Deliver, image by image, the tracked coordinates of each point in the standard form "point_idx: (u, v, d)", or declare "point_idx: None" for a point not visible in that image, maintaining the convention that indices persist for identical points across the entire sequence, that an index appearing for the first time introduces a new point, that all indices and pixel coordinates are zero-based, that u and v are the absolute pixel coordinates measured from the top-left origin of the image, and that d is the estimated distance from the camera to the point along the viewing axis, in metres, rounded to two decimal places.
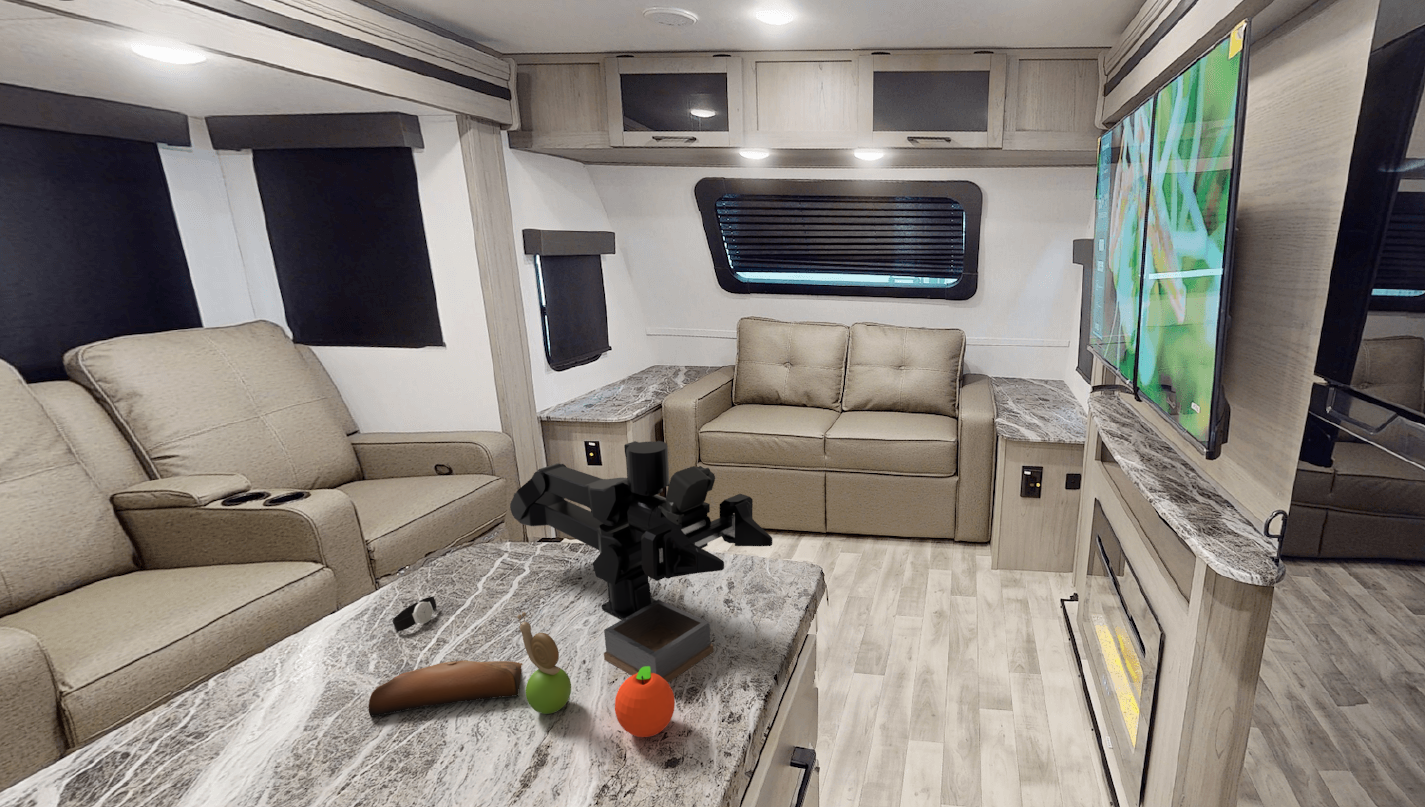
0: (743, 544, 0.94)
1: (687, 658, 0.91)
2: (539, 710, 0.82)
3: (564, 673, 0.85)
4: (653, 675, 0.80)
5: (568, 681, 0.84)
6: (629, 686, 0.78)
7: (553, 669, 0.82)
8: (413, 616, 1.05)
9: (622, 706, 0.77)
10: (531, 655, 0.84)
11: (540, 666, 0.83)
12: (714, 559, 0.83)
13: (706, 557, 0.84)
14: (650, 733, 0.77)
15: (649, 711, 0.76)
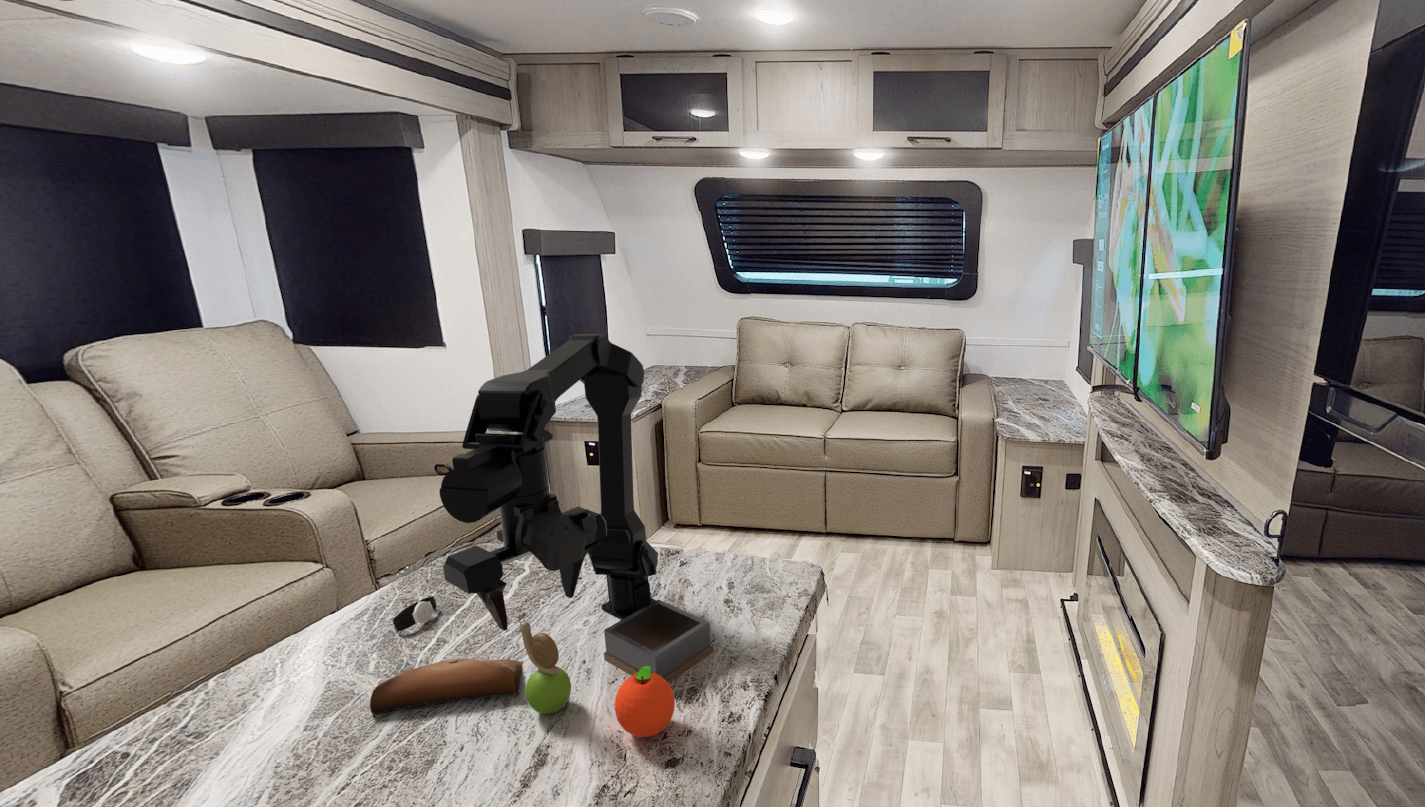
0: None
1: (687, 658, 0.91)
2: (539, 710, 0.82)
3: (564, 673, 0.85)
4: (653, 675, 0.80)
5: (568, 681, 0.84)
6: (629, 686, 0.78)
7: (553, 669, 0.82)
8: (413, 615, 1.05)
9: (622, 706, 0.77)
10: (531, 655, 0.84)
11: (540, 666, 0.83)
12: (502, 624, 0.78)
13: (498, 618, 0.77)
14: (650, 733, 0.77)
15: (649, 711, 0.76)
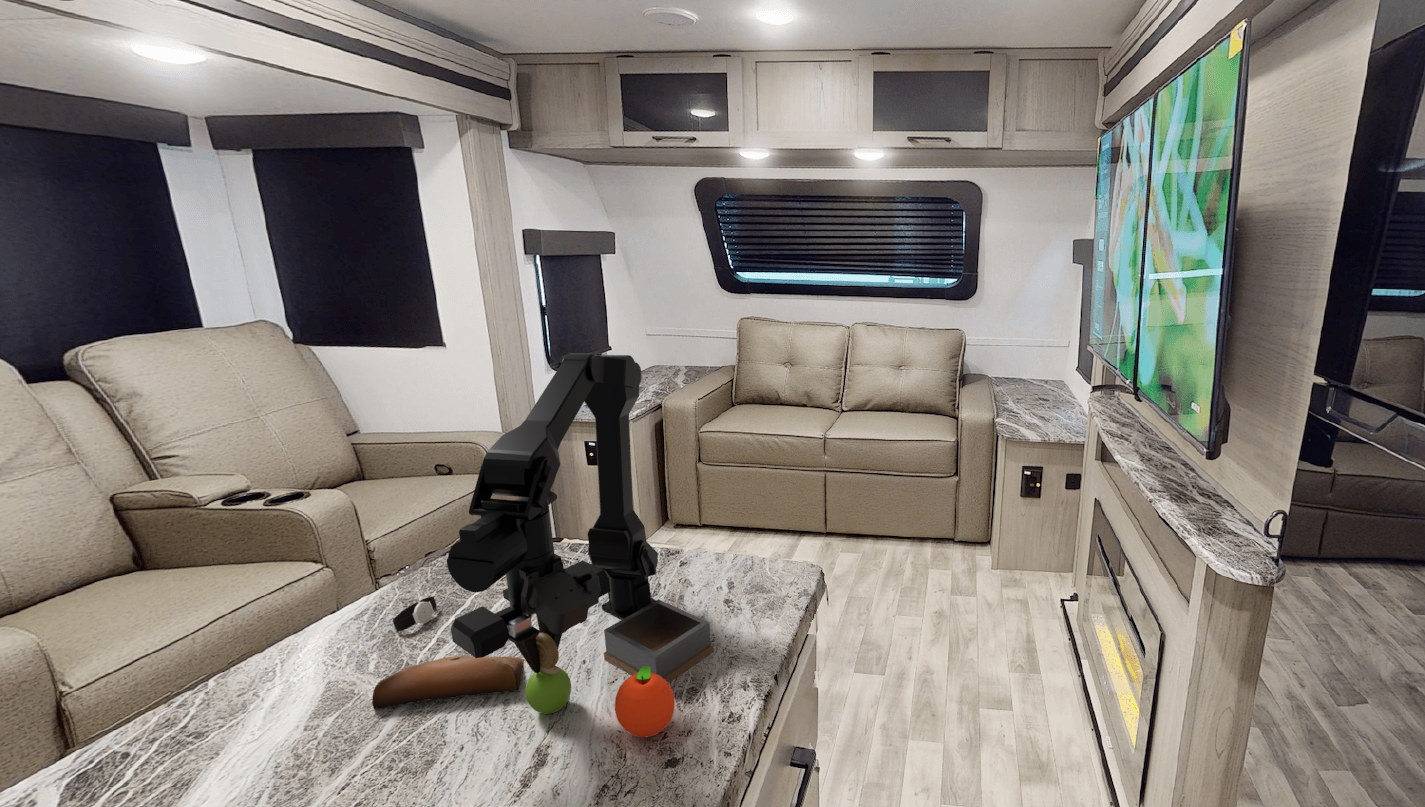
0: (538, 619, 0.85)
1: (687, 658, 0.91)
2: (539, 710, 0.82)
3: (564, 673, 0.85)
4: (653, 675, 0.80)
5: (568, 681, 0.84)
6: (629, 686, 0.78)
7: (553, 669, 0.82)
8: (414, 616, 1.05)
9: (622, 706, 0.77)
10: None
11: (540, 666, 0.83)
12: (535, 668, 0.82)
13: (531, 662, 0.82)
14: (650, 733, 0.77)
15: (649, 710, 0.76)
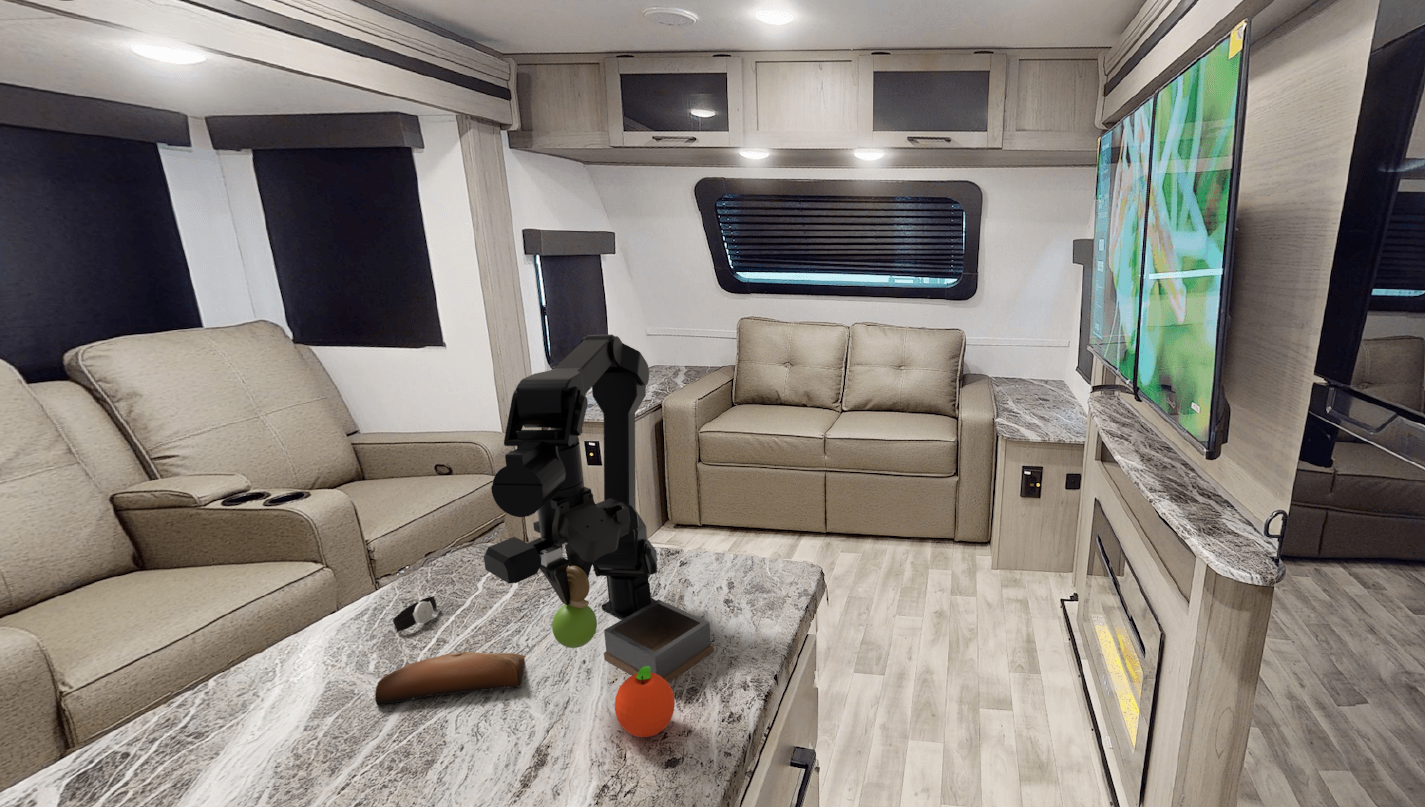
0: (567, 554, 0.86)
1: (687, 658, 0.91)
2: (565, 643, 0.83)
3: (591, 610, 0.86)
4: (653, 675, 0.80)
5: (595, 618, 0.85)
6: (629, 686, 0.78)
7: (582, 602, 0.83)
8: (414, 615, 1.05)
9: (622, 706, 0.77)
10: None
11: None
12: (565, 599, 0.84)
13: (562, 593, 0.83)
14: (650, 733, 0.77)
15: (649, 711, 0.76)
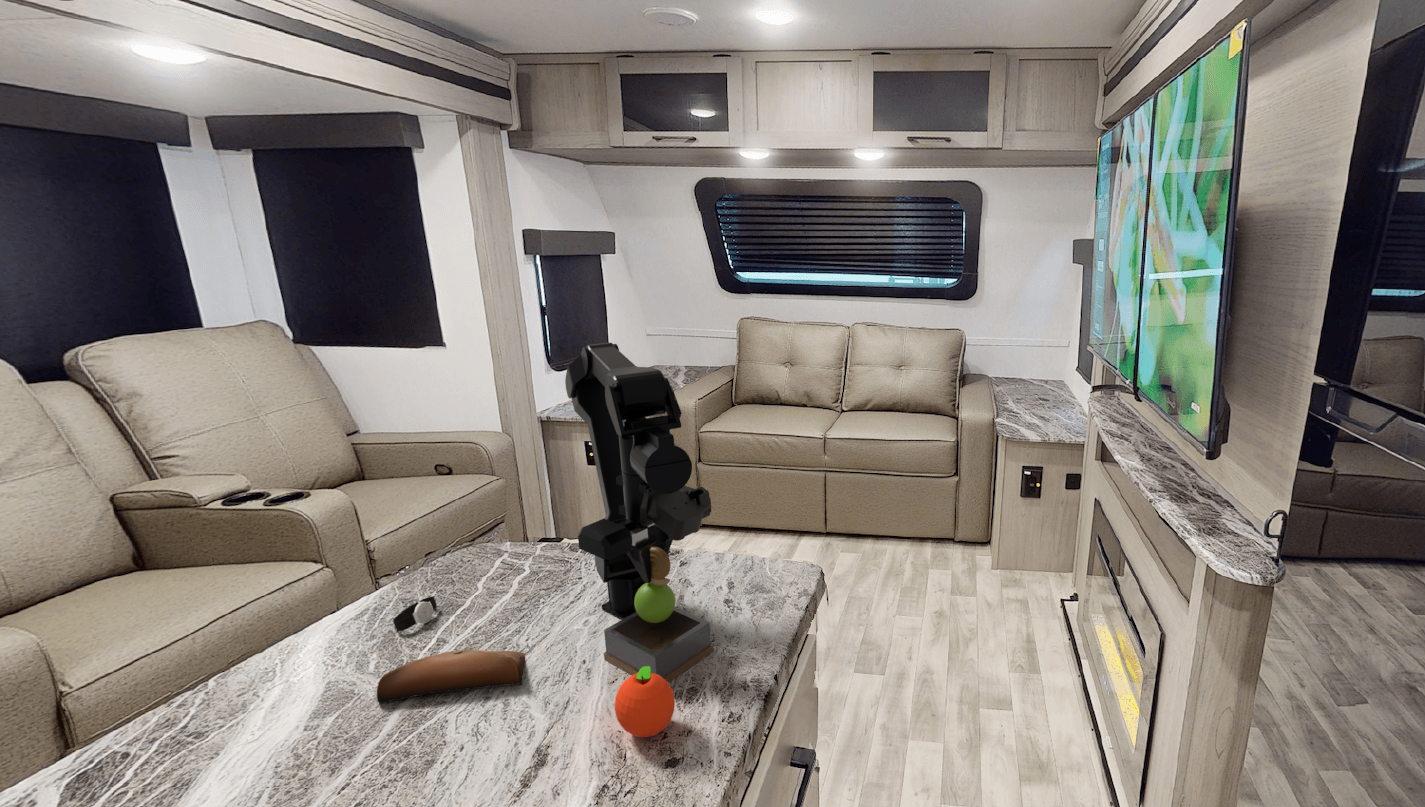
0: None
1: (687, 658, 0.91)
2: (648, 618, 0.90)
3: (670, 588, 0.92)
4: (653, 675, 0.80)
5: (673, 595, 0.92)
6: (629, 686, 0.78)
7: (664, 580, 0.90)
8: (414, 616, 1.05)
9: (622, 706, 0.77)
10: None
11: (651, 578, 0.91)
12: (647, 577, 0.90)
13: (645, 571, 0.90)
14: (650, 733, 0.77)
15: (649, 710, 0.76)
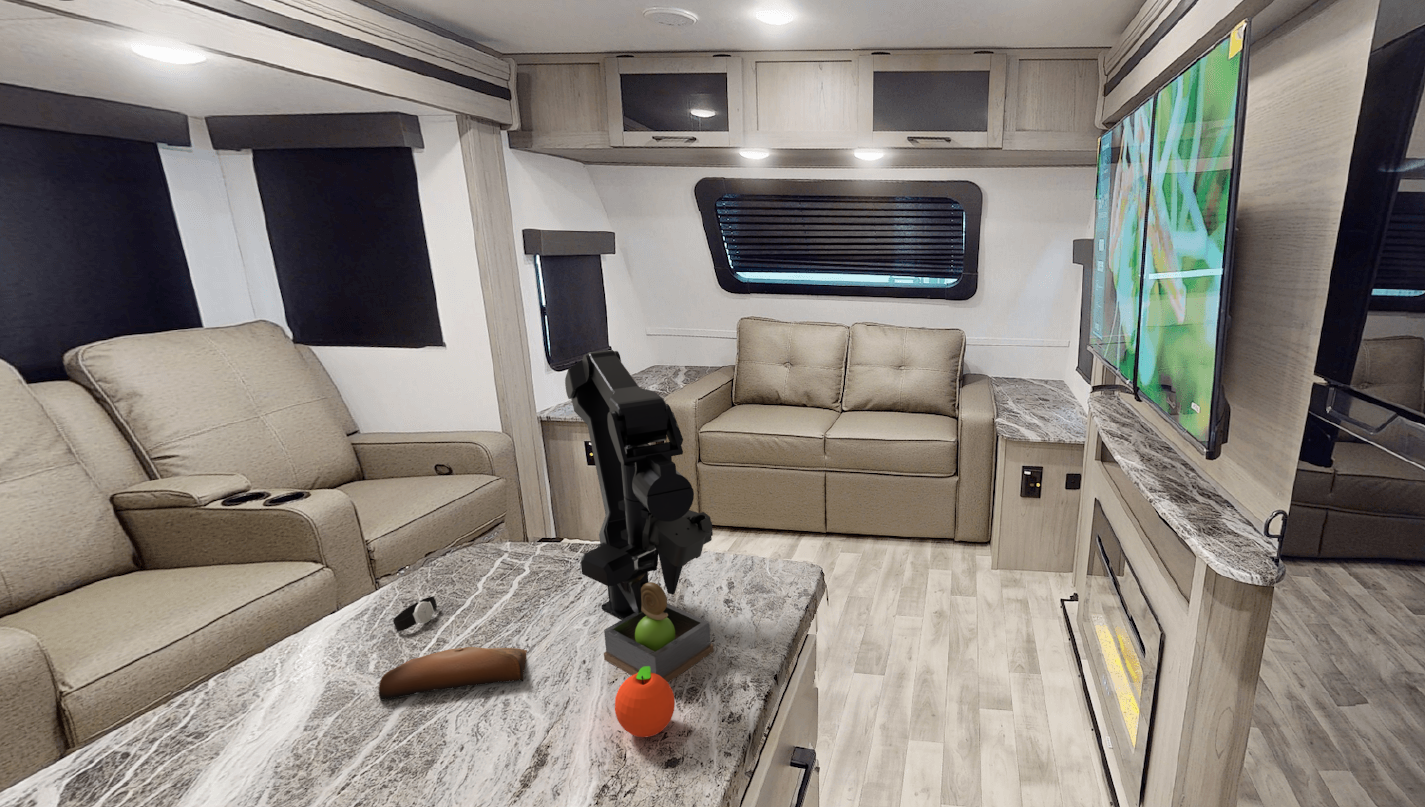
0: (659, 554, 0.95)
1: (687, 658, 0.91)
2: None
3: (669, 620, 0.93)
4: (653, 675, 0.80)
5: (673, 627, 0.93)
6: (629, 686, 0.78)
7: (662, 615, 0.91)
8: (414, 615, 1.05)
9: (622, 706, 0.77)
10: None
11: (649, 613, 0.92)
12: (637, 608, 0.90)
13: (635, 602, 0.89)
14: (650, 733, 0.77)
15: (649, 711, 0.76)
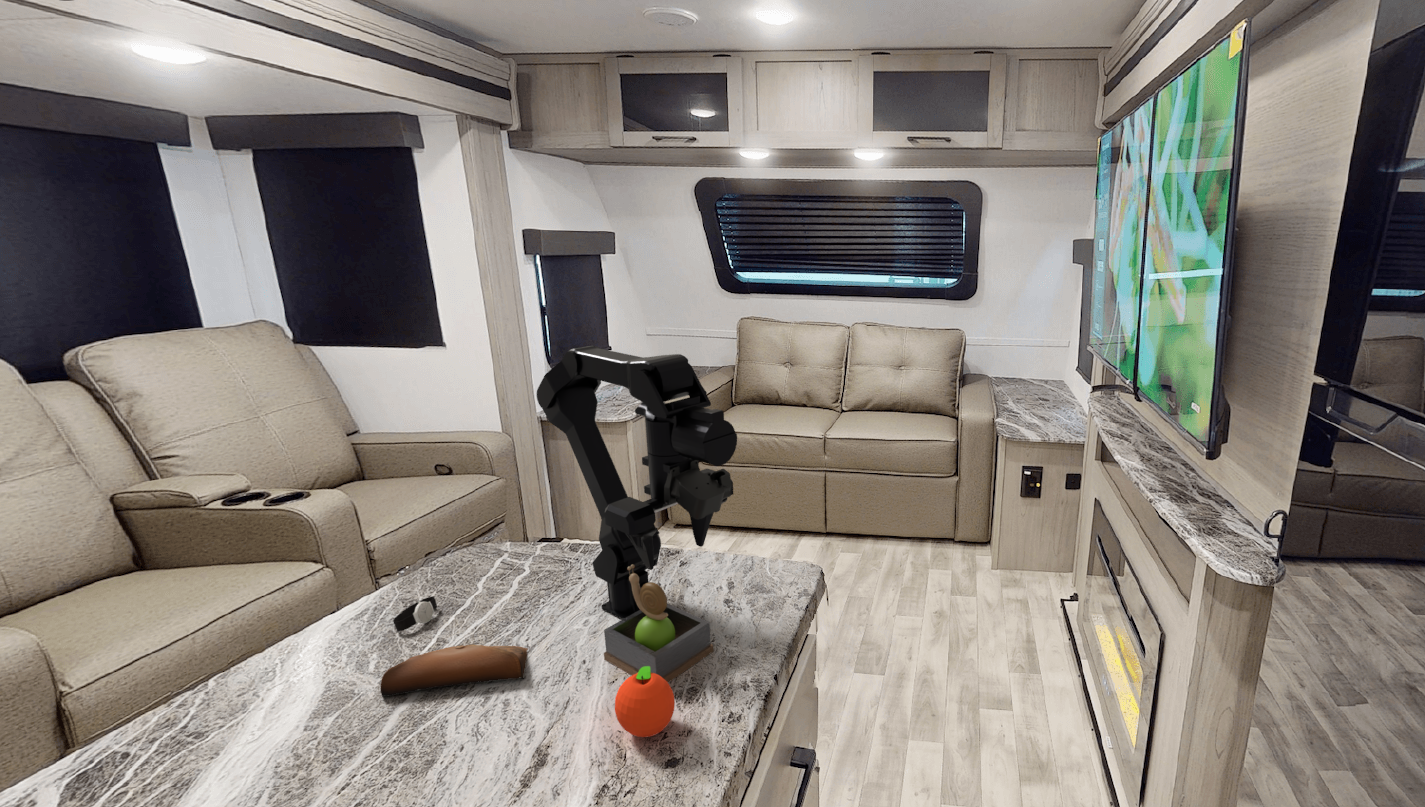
0: None
1: (687, 658, 0.91)
2: None
3: (669, 620, 0.93)
4: (653, 675, 0.80)
5: (673, 627, 0.93)
6: (629, 686, 0.78)
7: (662, 615, 0.91)
8: (414, 615, 1.05)
9: (622, 706, 0.77)
10: (639, 603, 0.93)
11: (649, 613, 0.92)
12: (650, 564, 0.92)
13: (647, 558, 0.91)
14: (649, 733, 0.77)
15: (649, 710, 0.76)
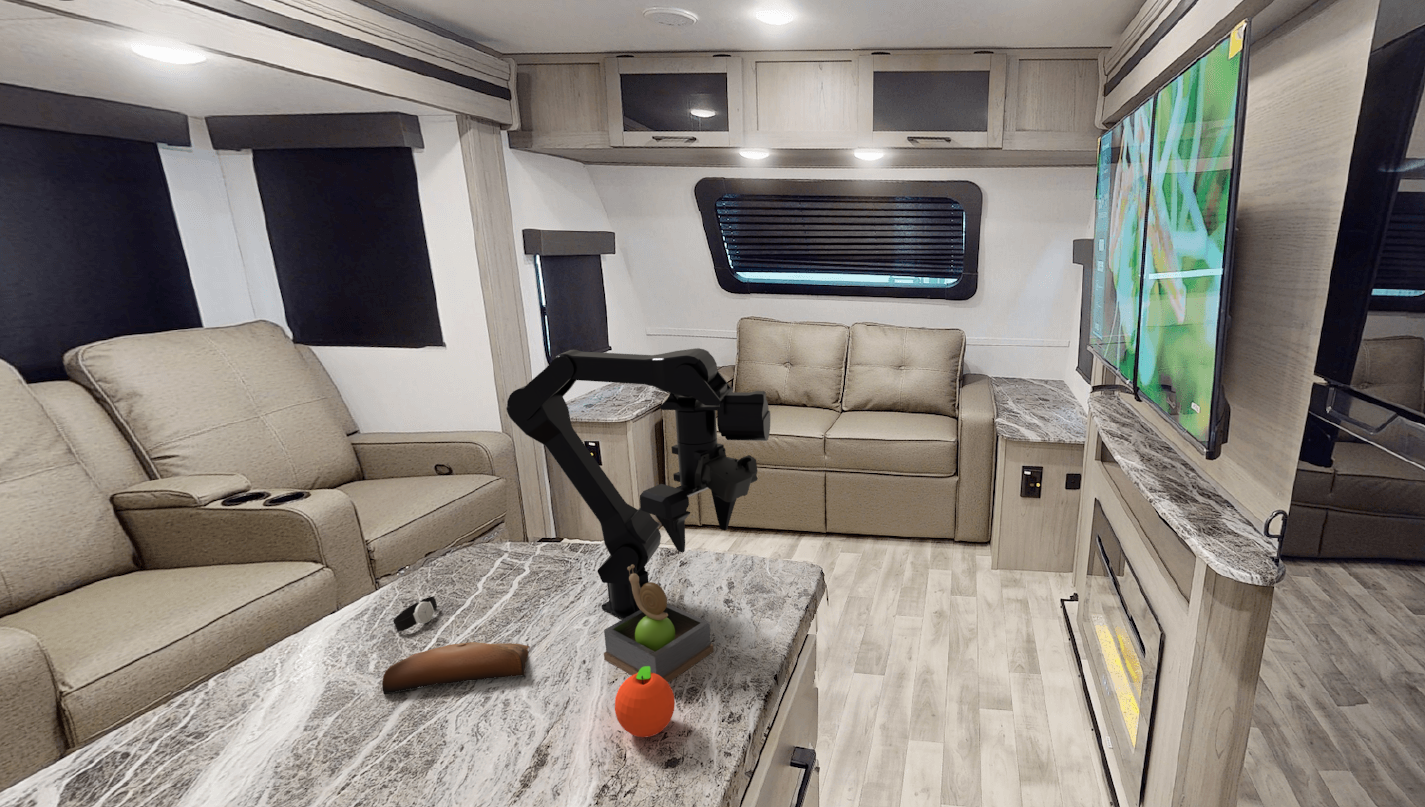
0: (713, 494, 1.05)
1: (687, 658, 0.91)
2: None
3: (669, 620, 0.93)
4: (653, 675, 0.80)
5: (673, 627, 0.93)
6: (629, 686, 0.78)
7: (662, 615, 0.91)
8: (414, 616, 1.05)
9: (622, 706, 0.77)
10: (639, 603, 0.93)
11: (649, 613, 0.92)
12: (681, 547, 0.97)
13: (679, 541, 0.97)
14: (649, 733, 0.77)
15: (649, 710, 0.76)
